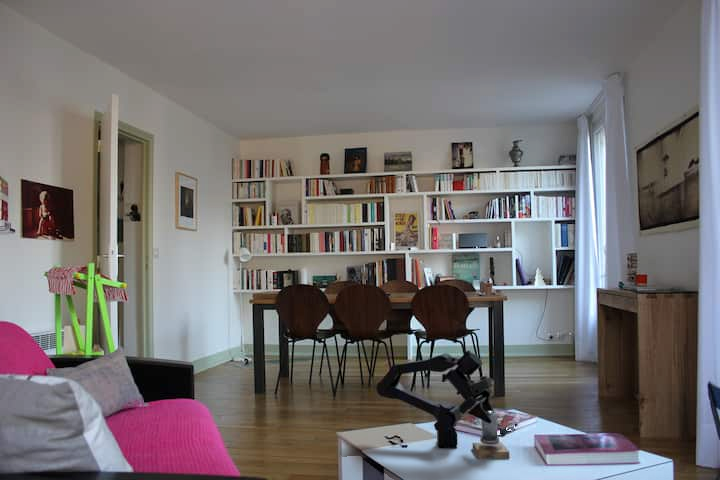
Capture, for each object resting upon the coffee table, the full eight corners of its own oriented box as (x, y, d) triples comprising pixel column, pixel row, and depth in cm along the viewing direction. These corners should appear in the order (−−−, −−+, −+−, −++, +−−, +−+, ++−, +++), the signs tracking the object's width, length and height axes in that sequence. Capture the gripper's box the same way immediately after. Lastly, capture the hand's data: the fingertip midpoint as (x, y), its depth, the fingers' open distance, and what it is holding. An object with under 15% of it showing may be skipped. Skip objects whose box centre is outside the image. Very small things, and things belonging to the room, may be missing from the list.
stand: (479, 458, 181) (478, 452, 181) (472, 448, 191) (472, 442, 191) (509, 458, 181) (509, 451, 182) (501, 448, 191) (501, 442, 192)
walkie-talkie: (509, 438, 203) (520, 424, 221) (508, 426, 204) (519, 413, 221) (485, 435, 208) (498, 422, 225) (485, 423, 208) (498, 411, 225)
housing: (482, 444, 184) (482, 413, 184) (478, 438, 190) (478, 409, 190) (501, 444, 184) (500, 413, 184) (496, 438, 190) (496, 408, 190)
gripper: (467, 373, 182) (500, 412, 176) (486, 364, 198) (518, 400, 191) (445, 394, 186) (477, 433, 179) (466, 384, 202) (496, 419, 195)
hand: (493, 420), depth 186 cm, fingers closed on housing, 5 cm apart
